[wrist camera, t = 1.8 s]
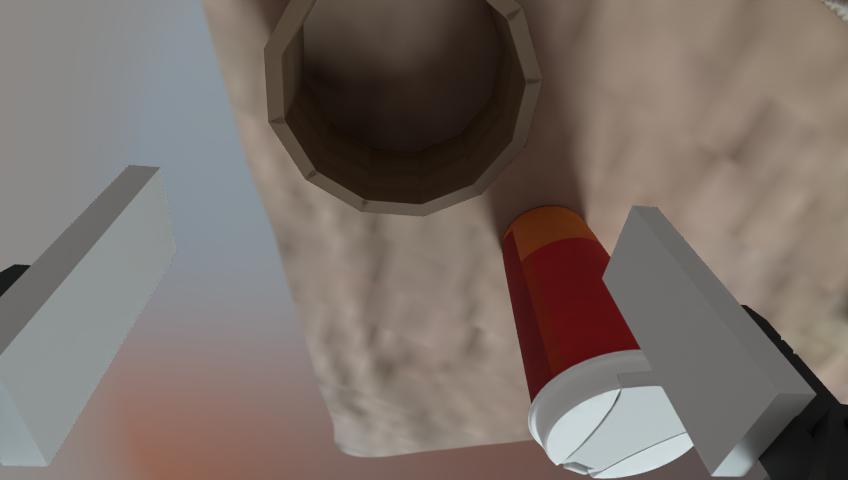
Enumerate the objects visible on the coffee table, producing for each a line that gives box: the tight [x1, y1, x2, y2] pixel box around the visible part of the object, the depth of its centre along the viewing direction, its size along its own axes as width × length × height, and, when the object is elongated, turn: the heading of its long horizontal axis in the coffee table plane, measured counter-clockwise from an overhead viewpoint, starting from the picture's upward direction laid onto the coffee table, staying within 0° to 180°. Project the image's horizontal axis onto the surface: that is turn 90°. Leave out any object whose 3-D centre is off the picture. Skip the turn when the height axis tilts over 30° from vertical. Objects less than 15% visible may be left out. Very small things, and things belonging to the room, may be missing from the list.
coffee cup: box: [502, 206, 694, 478], centre depth 28 cm, size 8×8×15 cm
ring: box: [264, 0, 543, 216], centre depth 24 cm, size 12×12×6 cm
